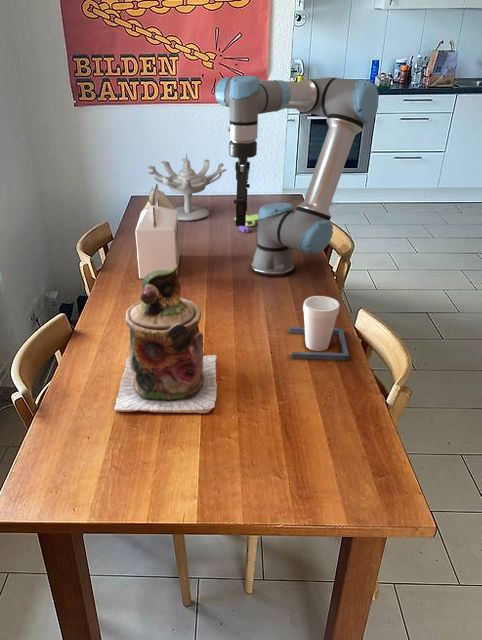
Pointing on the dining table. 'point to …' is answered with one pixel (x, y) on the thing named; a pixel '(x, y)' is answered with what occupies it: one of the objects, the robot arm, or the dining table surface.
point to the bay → (322, 356)
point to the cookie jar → (166, 352)
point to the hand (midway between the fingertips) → (241, 218)
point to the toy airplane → (249, 219)
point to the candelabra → (188, 186)
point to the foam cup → (319, 321)
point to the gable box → (157, 235)
